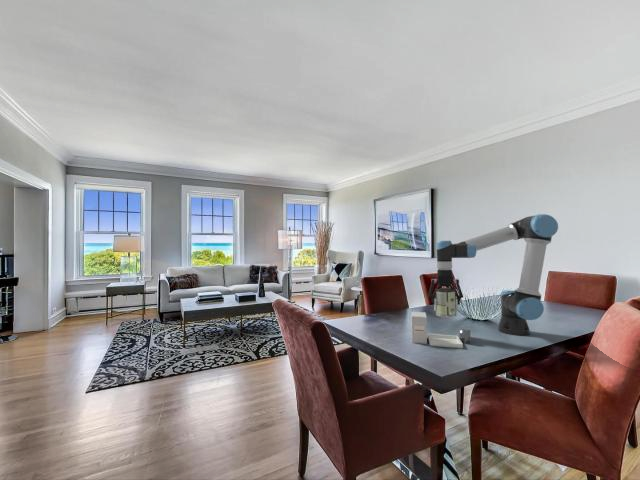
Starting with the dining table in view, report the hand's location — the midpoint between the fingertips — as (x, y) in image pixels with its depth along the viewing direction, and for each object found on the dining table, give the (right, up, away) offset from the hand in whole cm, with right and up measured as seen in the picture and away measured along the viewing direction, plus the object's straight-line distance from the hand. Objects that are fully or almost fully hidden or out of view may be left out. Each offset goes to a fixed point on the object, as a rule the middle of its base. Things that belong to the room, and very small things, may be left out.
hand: (445, 310), depth 169 cm
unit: (-17, -13, -9) cm, 23 cm away
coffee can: (0, -3, 0) cm, 3 cm away
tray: (-6, -13, -13) cm, 19 cm away
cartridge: (+5, -13, -12) cm, 18 cm away
